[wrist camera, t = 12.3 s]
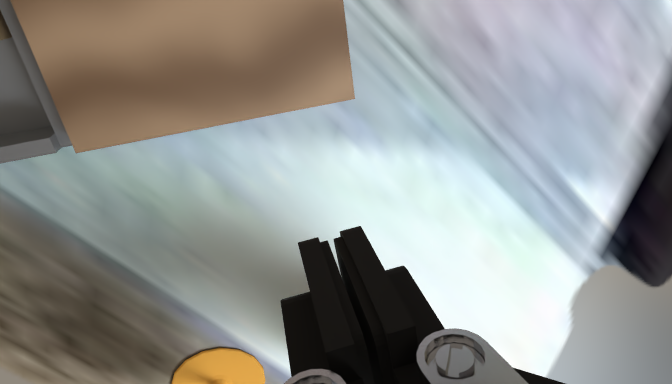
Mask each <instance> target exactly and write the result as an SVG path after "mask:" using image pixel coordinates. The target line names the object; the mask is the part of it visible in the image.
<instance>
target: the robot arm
mask: <svg viewBox="0 0 672 384" xmlns="http://www.w3.org/2000/svg"><path fill="white" fill-rule="evenodd" d="M340 236H341V237H339V238H335V239H334V244H335V249H336V253H337V258H338V263H339V267H340V272H341V275H340V272H339V270H338V267H337V264H336V262H335V259H334V256H333V254H332V251H331V248H330V246H329V243H328V241H324V242H320V241H319V239H318V237H317V238H314V239H310V240H306V241H302V242H299V243H298V245H299V249H300V253H301V257H302V261H303V265H304V269H305V273H306V277H307V281H308V285H309V289H310V292H307V293H304V294H300V295H297V296H293V297H289V298H286V299H282V300H281V307H282V314H283V321H284V328H285V335H286V342H287V348H288V355H289V362H290V369H291V376H292V377H291V378H289V379H288V380H287V381H286V382H285V383H284V384H565V383H562V382H558V381H555V380H552V379H548V378H545V377H542V376H539V375H535V374H532V373H529V372H525V371H522V370H519V369H516V368H512V367H511V366H510V365H509V364H508V363H507V362H506V361H505V360H504V359H503V358H502V357H501V356H500V355H499V354H498V353H497V352H496V351H495V350H494V349H493V348H492V347H491V346H490V345H489V344H488V343H487V342H486V341H485V340H484V339H483V338H481V337H480V336H479V335H477V334H475V333H472V332H470V331H467V330H462V329H444V327H443V325H442V324H441V322H440V321H439V319H438V318H437V316H436V314H435V313H434V311H433V310H432V308H431V306H430V305H429V303H428V302H427V300H426V299H425V297H424V295H423V294H422V292H421V291H420V289H419V287H418V286H417V284H416V283H415V281H414V280H413V278H412V276H411V275H410V273H409V272H408V270H407V269H406V267H405V266H400V267H396V268H393V269H389V270H386V271H385V270H384V268H383V266H382V264H381V262H380V260H379V259H378V257H377V255H376V253H375V251H374V249H373V248H372V246H371V244H370V242H369V240H368V239H367V237H366V235H365V233H364V231H363V229H362V228H361V226H358V227H355V228H351V229H347V230H343V231H340ZM341 276H342V277H341Z"/></svg>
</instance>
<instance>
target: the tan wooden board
mask: <svg viewBox="0 0 672 384" xmlns="http://www.w3.org/2000/svg"><path fill="white" fill-rule="evenodd" d="M10 1H11V3H12V5H13V8H14V10H15V12H16V15H17V17H18V19H19V22H20V24H21V26H22V29H23V31H24V33H25V36H26V38H27V40H28V43H29V45H30V47H31V50H32V52H33V54H34V57H35V59H36V61H37V64H38V66H39V68H40V71H41V73H42V75H43V78H44V80H45V82H46V85H47V87H48V89H49V92H50V94H51V96H52V99H53V101H54V103H55V106H56V108H57V110H58V113H59V115H60V117H61V120H62V122H63V124H64V127H65V129H66V131H67V134H68V136H69V138H70V141H71V143H72V145H73V148H74V150H75V152H76V153H79V152H85V151H90V150H95V149H100V148H105V147H110V146H115V145H120V144H126V143H131V142H136V141H141V140H146V139H151V138H156V137H161V136H167V135H172V134H177V133H182V132H187V131H192V130H197V129H202V128H208V127H213V126H218V125H223V124H228V123H233V122H238V121H243V120H249V119H254V118H259V117H264V116H269V115H274V114H279V113H284V112H290V111H295V110H300V109H305V108H310V107H315V106H320V105H326V104H331V103H336V102H341V101H346V100H351V99H355V96H354V88H353V79H352V71H351V63H350V54H349V46H348V38H347V29H346V21H345V13H344V4H343V0H10Z"/></svg>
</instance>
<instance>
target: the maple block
mask: <svg viewBox="0 0 672 384" xmlns="http://www.w3.org/2000/svg"><path fill="white" fill-rule="evenodd" d="M11 37H12V35H11V33H10V30H9V28H8V26H7V24H6V21H5V19H4V17H3V15H2V12H1V10H0V40H4V39H8V38H11Z"/></svg>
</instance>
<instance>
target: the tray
mask: <svg viewBox="0 0 672 384" xmlns="http://www.w3.org/2000/svg"><path fill="white" fill-rule="evenodd" d="M0 10H1V12H2V15H3V17H4V19H5V21H6V24H7V26H8V28H9V30H10V33H11V35H12V37H11V38H8V39H4V40H0V163H5V162H10V161H16V160H21V159H26V158H31V157H36V156H41V155H46V154H52V153H56V152H57V151H58V150H59V149H60V148H61V147H66V146H71V145H72V143H71V141H70V138H69V136H68V134H67V131H66V129H65V127H64V124H63V122H62V120H61V117H60V115H59V113H58V110H57V108H56V106H55V103H54V101H53V99H52V96H51V94H50V92H49V89H48V87H47V85H46V82H45V80H44V78H43V75H42V73H41V71H40V68H39V66H38V64H37V61H36V59H35V57H34V54H33V52H32V50H31V47H30V45H29V43H28V40H27V38H26V36H25V33H24V31H23V29H22V26H21V24H20V22H19V19H18V17H17V15H16V12H15V10H14V8H13V5H12V3H11V1H10V0H0Z"/></svg>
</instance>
